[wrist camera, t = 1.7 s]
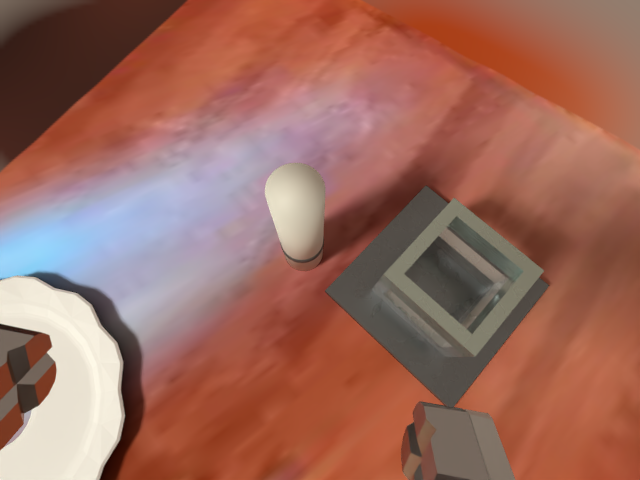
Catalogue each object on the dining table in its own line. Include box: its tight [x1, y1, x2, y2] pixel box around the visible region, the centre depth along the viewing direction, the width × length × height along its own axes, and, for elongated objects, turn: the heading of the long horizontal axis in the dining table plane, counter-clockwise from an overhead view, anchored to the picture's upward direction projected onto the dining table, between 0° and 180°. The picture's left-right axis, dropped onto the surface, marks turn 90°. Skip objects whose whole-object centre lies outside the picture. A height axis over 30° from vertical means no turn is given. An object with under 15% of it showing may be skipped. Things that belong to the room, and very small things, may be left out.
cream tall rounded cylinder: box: [265, 163, 325, 271], centre depth 34 cm, size 4×4×16 cm
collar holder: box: [325, 186, 549, 407], centre depth 36 cm, size 16×16×8 cm
